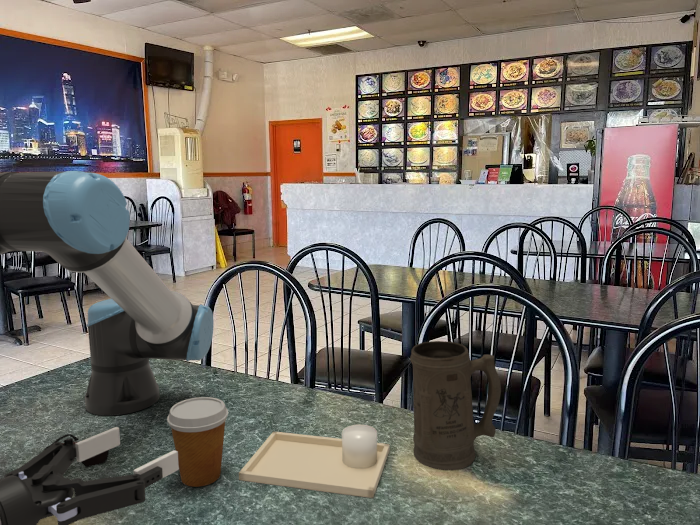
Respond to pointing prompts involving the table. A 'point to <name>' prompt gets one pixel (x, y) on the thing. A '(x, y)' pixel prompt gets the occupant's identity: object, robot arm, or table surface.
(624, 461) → the table surface
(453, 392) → the beer stein
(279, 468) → the serving tray
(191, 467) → the disposable coffee cup
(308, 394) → the table surface
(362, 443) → the white rounded cylinder
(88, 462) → the sunglasses
